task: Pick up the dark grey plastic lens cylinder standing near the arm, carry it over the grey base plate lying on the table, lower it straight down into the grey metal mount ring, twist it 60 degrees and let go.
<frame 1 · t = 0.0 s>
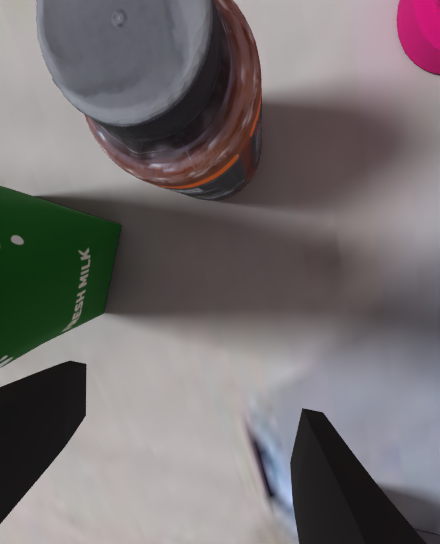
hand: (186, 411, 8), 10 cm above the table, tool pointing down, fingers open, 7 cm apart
milk carton: (70, 255, 19), on the table
supplement bottle: (213, 153, 16), on the table
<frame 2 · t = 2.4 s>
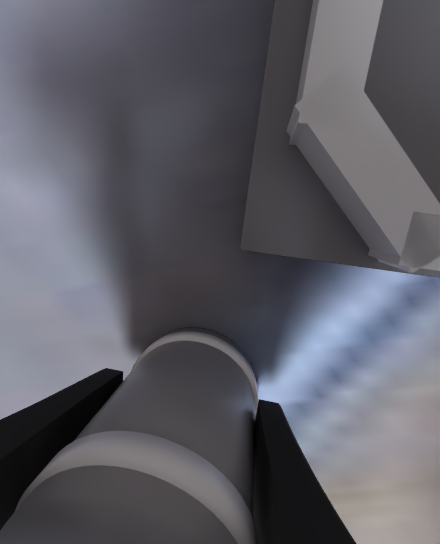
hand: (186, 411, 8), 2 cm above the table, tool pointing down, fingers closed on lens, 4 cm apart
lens: (197, 381, 10), on the table, touching gripper
when the fingers open (5 cm above the table, at t = 6.6 s): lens stays where it is, resting on grey base plate.
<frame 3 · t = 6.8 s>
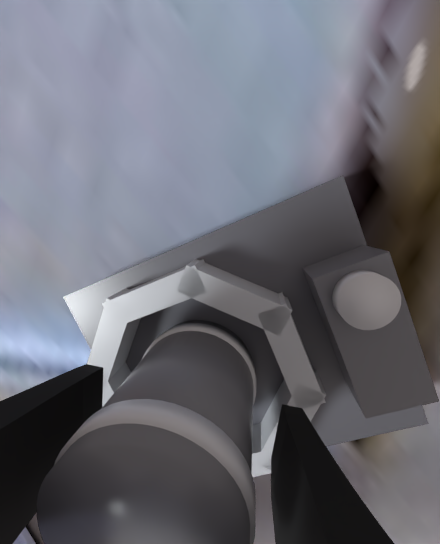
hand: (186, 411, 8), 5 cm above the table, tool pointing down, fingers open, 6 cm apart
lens: (201, 369, 11), point 2 cm above the table, touching grey base plate
grey base plate: (211, 344, 13), on the table
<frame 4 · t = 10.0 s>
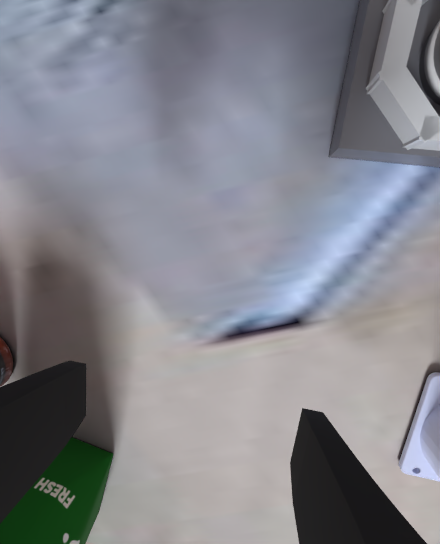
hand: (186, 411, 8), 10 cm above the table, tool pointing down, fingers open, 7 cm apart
milk carton: (73, 467, 24), on the table
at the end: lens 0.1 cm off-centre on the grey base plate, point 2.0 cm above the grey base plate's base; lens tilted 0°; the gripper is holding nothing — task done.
